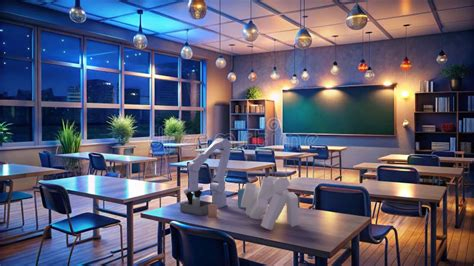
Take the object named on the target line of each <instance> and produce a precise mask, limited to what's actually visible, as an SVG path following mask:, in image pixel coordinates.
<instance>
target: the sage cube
mask: <svg viewBox="0 0 474 266" xmlns="http://www.w3.org/2000/svg"><path fill="white" fill-rule="evenodd" d="M200 200H201V198H198V197H195V196H193V198H192V204H189V202H188V204H189V205H194V206H200Z"/></svg>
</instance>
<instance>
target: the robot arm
mask: <svg viewBox="0 0 474 266" xmlns="http://www.w3.org/2000/svg"><path fill="white" fill-rule="evenodd" d="M216 150H219V152H220V157H219V162H218V165H217V170H216V173H215V177H214V178H212V180H211V183H210V184H209V189H210V191H211V202H213V203H217V209H221V208H223V207H227V206H228V204H227V194H226V191H225V190H226V180H225V179H224V178H225V174H226V172H227V168H228V167H227V166H228V163H229V159H230V155H231V142H230V140H229V139H228V138H220V137H217V138H215V139H214V140H212V142H211V144H210V145H209V146H208V147H207V148H206V149H205V151H204V152H203V153H202V152H201V153H198V154H197V156H196V157H195V158H194V159H193V160H192V161H189V163H188V164H187V166H186V169H187V170H188V188H186V189H184V190H183V194H184V195H185V197H186V198H187V201H188V202H189V204H192V198H193V197H198V198H200V197H201V195H202V194H203V191H204V187H203V186H199V171H200V169H201V166H202V165H204V164H205V162H206V161H208V157H209V156H210V155H211V154H212V153H214V152H215V151H216ZM200 199H201V198H200Z"/></svg>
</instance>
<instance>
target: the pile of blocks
mask: <svg viewBox="0 0 474 266" xmlns="http://www.w3.org/2000/svg"><path fill="white" fill-rule="evenodd" d="M245 183H246V184H245V187H244V188H245V190H244V194H243V197H242V202H241V207H246V209H245V213H244V214H246V215H247V216H249V218H250V219H253V220H261V218H262V217H263V218H262V221H261V223H260V226H261V227H263V228H265V229H267V230H271V231H272V230H273V229H274V227H275V223H276V221H278V219H279V217H280V215H281V214H282V211H283V210H284V208H285V206H286V222H287V223H288V224H289V225H290V226H291V228H293V227H296V226H298V225H299V224H300V223H299V220H300V219H299V197H298V195H297V194H296V193H295V192H294V191H291V192H290V191H289V190H288V189H287V188H289V186H290V185H291V183H290V180H289V179H288V178H287V177H281V176H280V177H279V178H278V177H276V176H271V175H268V176H267V177H265V176H263V177H262V180H261V183H260V187H259V186H257V184H256V183H252V182H245ZM264 213H265V214H264ZM263 215H264V216H263Z"/></svg>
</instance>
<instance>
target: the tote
mask: <svg viewBox="0 0 474 266" xmlns="http://www.w3.org/2000/svg"><path fill="white" fill-rule="evenodd" d="M209 204H217V203H213V202H212V201H208V200H207V201H206V200H201V199H200V206H194V205H189V204H188V200H187V201H183V202H180V203H179V211H180V212H183V213H186V214H190V215H196V216H199V217H201V216H202V217H203V216H206V215H208V205H209Z"/></svg>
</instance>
